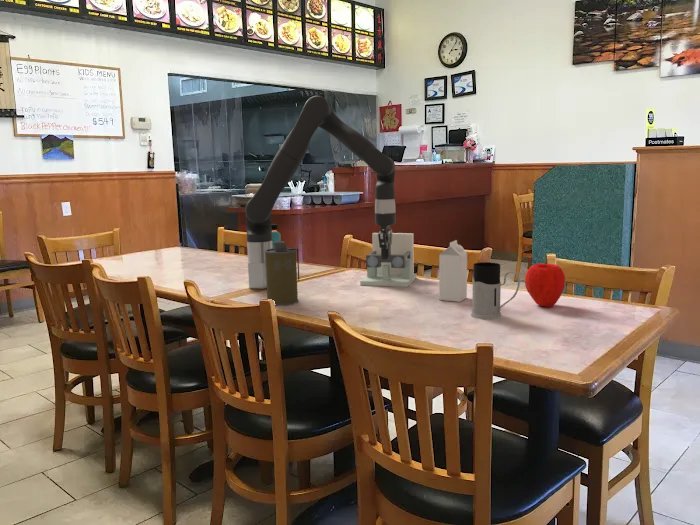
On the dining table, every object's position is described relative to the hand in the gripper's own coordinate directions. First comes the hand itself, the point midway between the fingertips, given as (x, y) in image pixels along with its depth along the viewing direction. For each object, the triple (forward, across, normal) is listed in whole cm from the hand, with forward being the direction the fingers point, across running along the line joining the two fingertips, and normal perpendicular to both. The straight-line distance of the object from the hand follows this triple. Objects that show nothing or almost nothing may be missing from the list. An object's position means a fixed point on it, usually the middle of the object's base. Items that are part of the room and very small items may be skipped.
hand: (385, 257), depth 212 cm
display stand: (+10, -5, 0) cm, 11 cm away
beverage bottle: (+10, -22, -55) cm, 60 cm away
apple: (+10, +25, +55) cm, 61 cm away
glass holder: (+10, +41, +41) cm, 59 cm away
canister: (+10, +34, -27) cm, 45 cm away
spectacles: (+3, -4, 0) cm, 6 cm away
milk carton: (+10, +21, +27) cm, 35 cm away
